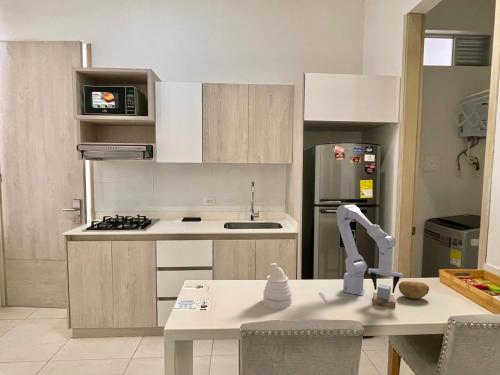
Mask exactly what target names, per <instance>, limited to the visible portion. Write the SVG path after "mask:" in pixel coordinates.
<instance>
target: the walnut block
mask: <svg viewBox="0 0 500 375" xmlns="http://www.w3.org/2000/svg"><path fill="white" fill-rule="evenodd" d="M372 301H373V305H374V306H377V307H378V306H379V307H386V308H393V309H395V308H396V299H395V296H394V294H390V298H389V300H386V299H381V298H377V292H373V293H372Z"/></svg>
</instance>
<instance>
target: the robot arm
mask: <svg viewBox="0 0 500 375" xmlns="http://www.w3.org/2000/svg"><path fill="white" fill-rule="evenodd" d="M335 214H336V219H337V222H336V223H337V226H338V230H339V233H340V236H341V239H342V242H343V245H344V250H345V253H346V256H347V257H346V259H345V261H344V262H345V271H346V272H345V273H344V274H343V286H342V288H343V289H342V293H348V294H353V295H358V296H363V295H364V293H365V292H366V291H365V290H366V289H364V280H365V279H364V275H365V272H366V271H367V270H368V271H367V274H370V278H371V280H372V284H373V287H374V288H373V289H374V290H375V291H377V289H378V284H377V279H378V275H380V276H385V277H392V289H391V293H392V294H394V293H395V289H396V287H397V285H398V283H399V281H400V280H401V279H403V272H397V271H394V270H393V255H394V254H393V253H394V247H395V246H396V244H397V243H396V239H395V237H394V236H393V235H390V234H388V233H387V232H385V231H384V230H383V229H382V228H381V226H380V225H379V224H376V223H375V224H373V223H372V222H371V221H370V220H369V219H368V218H367V216H365V215H364V213H363V212H361V209H360V208H359V207H358V206H357V205H356V204H354V203H353V204H344V205H339V206H338V207H337V209H336V211H335ZM353 219H354V220H356V221H357V222H358V223H359V224H361V225H362V226H363V227H364V228H365V229H366V233H367V234H368V235H369V236H370V237H371V238H372V239H373V240H374V241H375V242H376V245H377V247H378V268H372V267H371V268H368V264H367V263H366V261H365V260H364V257H363V256H362V254H359V250H358V248H357V244H356V241H355V239H354V235H353V233H352V232H353V231H352V228H351V226H350V223H351V222H352V220H353Z"/></svg>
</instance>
